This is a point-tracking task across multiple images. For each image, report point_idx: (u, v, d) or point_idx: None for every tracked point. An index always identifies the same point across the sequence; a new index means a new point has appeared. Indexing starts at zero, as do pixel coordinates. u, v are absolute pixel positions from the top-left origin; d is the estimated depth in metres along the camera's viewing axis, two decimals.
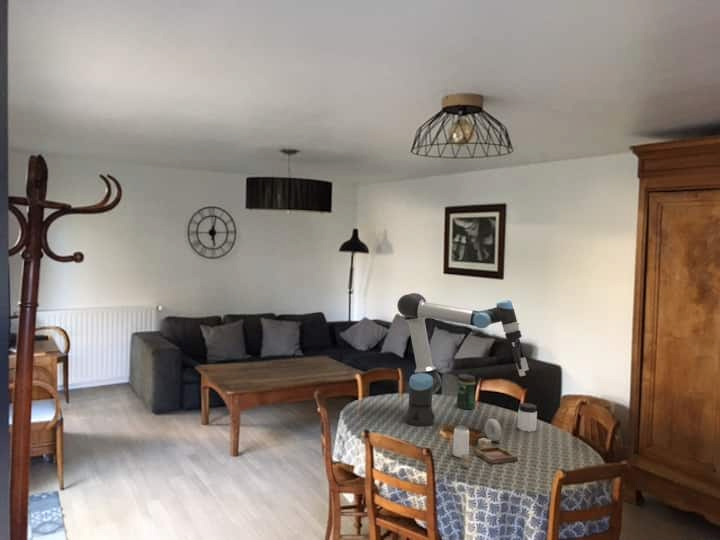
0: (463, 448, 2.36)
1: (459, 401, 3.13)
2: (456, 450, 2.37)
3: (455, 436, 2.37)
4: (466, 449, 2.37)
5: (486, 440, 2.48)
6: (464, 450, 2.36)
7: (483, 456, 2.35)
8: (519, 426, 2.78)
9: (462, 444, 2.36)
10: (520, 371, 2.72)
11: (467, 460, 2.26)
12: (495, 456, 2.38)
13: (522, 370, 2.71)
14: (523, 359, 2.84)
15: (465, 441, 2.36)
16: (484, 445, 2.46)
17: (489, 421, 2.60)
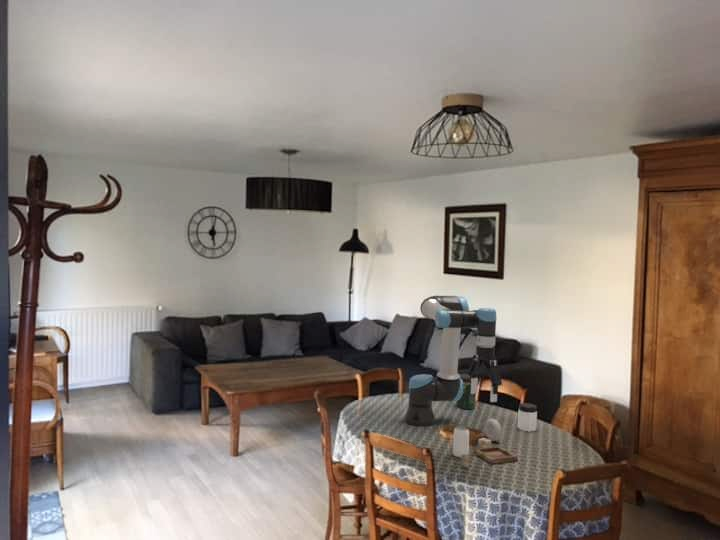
0: (463, 448, 2.36)
1: (459, 401, 3.13)
2: (456, 450, 2.37)
3: (455, 436, 2.37)
4: (466, 449, 2.37)
5: (486, 440, 2.48)
6: (464, 450, 2.36)
7: (483, 456, 2.35)
8: (519, 426, 2.78)
9: (462, 444, 2.36)
10: None
11: (467, 460, 2.26)
12: (495, 456, 2.38)
13: None
14: None
15: (465, 441, 2.36)
16: (484, 445, 2.46)
17: (489, 421, 2.60)
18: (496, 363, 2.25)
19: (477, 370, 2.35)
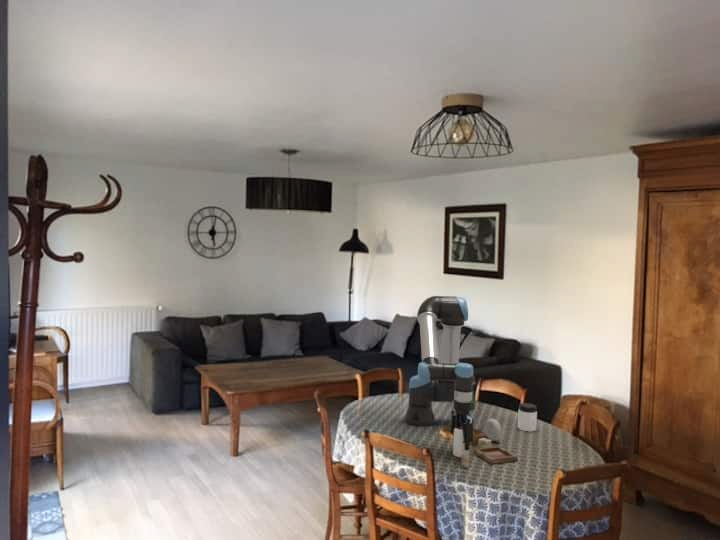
0: None
1: None
2: (456, 450, 2.37)
3: (455, 436, 2.37)
4: None
5: (486, 440, 2.48)
6: None
7: (483, 456, 2.35)
8: (519, 426, 2.78)
9: (462, 444, 2.36)
10: None
11: (467, 460, 2.26)
12: (495, 456, 2.38)
13: None
14: None
15: None
16: (484, 445, 2.46)
17: (489, 421, 2.60)
18: (472, 421, 2.33)
19: (457, 426, 2.41)
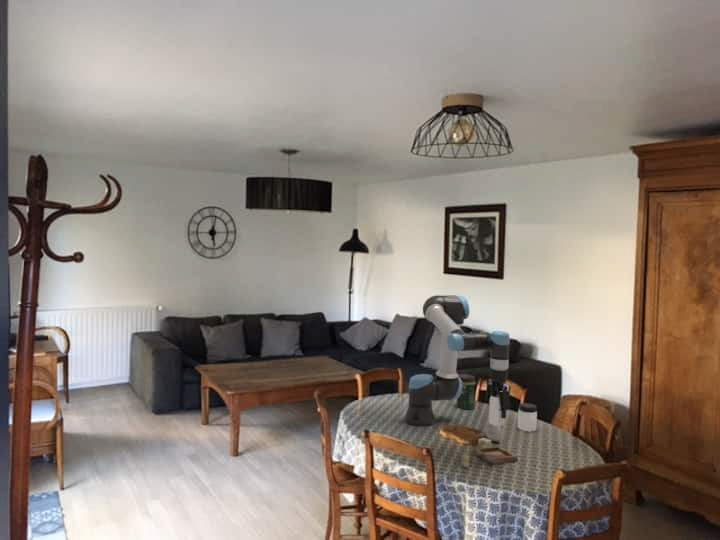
0: None
1: (459, 401, 3.13)
2: (492, 418, 2.36)
3: (491, 404, 2.36)
4: None
5: (486, 440, 2.48)
6: None
7: (483, 456, 2.35)
8: (519, 426, 2.78)
9: (498, 412, 2.34)
10: None
11: (467, 460, 2.26)
12: (495, 456, 2.38)
13: None
14: None
15: None
16: (484, 445, 2.46)
17: None
18: (509, 389, 2.31)
19: (493, 394, 2.40)
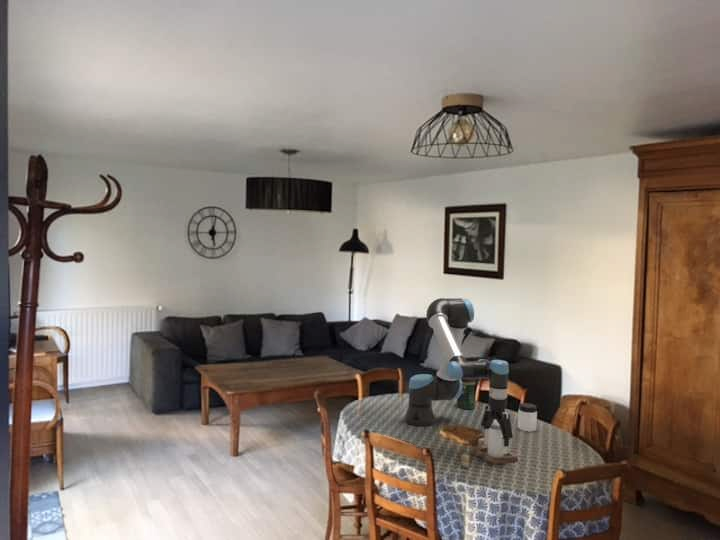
0: (498, 448, 2.35)
1: (459, 401, 3.13)
2: (491, 450, 2.36)
3: (490, 436, 2.36)
4: None
5: None
6: (499, 450, 2.35)
7: (483, 456, 2.35)
8: (519, 426, 2.78)
9: (497, 444, 2.35)
10: None
11: (467, 460, 2.26)
12: None
13: None
14: None
15: (500, 442, 2.35)
16: (484, 445, 2.46)
17: None
18: (508, 416, 2.32)
19: (490, 421, 2.41)
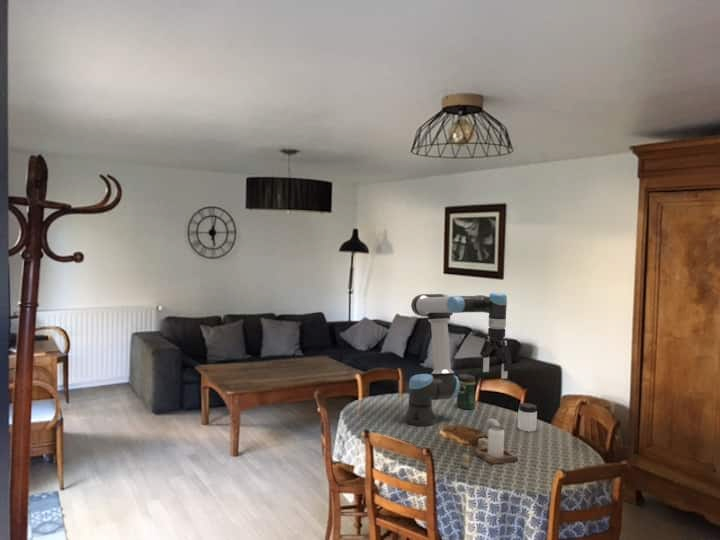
0: (498, 449, 2.35)
1: (459, 401, 3.13)
2: (491, 450, 2.36)
3: (490, 437, 2.36)
4: (501, 450, 2.36)
5: (486, 440, 2.48)
6: (499, 450, 2.35)
7: (483, 456, 2.35)
8: (519, 426, 2.78)
9: (497, 445, 2.35)
10: None
11: (467, 460, 2.26)
12: None
13: None
14: None
15: (500, 442, 2.35)
16: (484, 445, 2.46)
17: (489, 421, 2.60)
18: (507, 343, 2.46)
19: (489, 350, 2.56)
